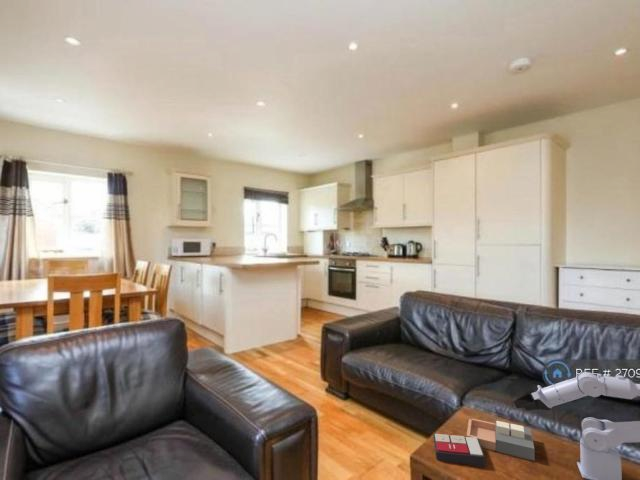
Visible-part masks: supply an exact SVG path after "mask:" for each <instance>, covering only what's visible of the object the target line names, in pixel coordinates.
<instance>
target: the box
mask: <svg viewBox="0 0 640 480" xmlns="http://www.w3.org/2000/svg"><path fill="white" fill-rule="evenodd" d="M467 423H468V424H467V428H466V429H467V431H466V437H474V438H478V440H479V442H480V445H481V448H482V449H485V450H490V451H493V452H496V422H495V423H494V422H490V421H485V420H481V419H476V418H471V417H468V422H467Z"/></svg>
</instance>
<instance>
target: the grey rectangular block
mask: <svg viewBox="0 0 640 480" xmlns="http://www.w3.org/2000/svg"><path fill="white" fill-rule="evenodd" d="M510 424H511V423H509V435H504V434H500V433H497V425H496V424H495V438H496V451H495V452H498V453H501V454H505V455H509V456H513V457H516V458H521V459H525V460H530V461H534V462H535V461H536V460H535V459H536V457H535V456H536V455H535V454H536V452H535V445H534V444H535V443H534V441H533V435H532V430H531V427H526V426H523V427H524V439H522V438H518V437H513V436H511V428H510Z"/></svg>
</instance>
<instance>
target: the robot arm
mask: <svg viewBox="0 0 640 480" xmlns="http://www.w3.org/2000/svg"><path fill="white" fill-rule="evenodd" d="M601 395H602V396H605V397H612V398H620V399H626V400H633V399H634V398H637V397H640V383H635V382H633V381H632V380H631V379H629V378H628V377H627V378H626V377H624V376H623V375H619V374H617V377H616V376H609V375H602V374H601V373H596V374H594V373H593V372H588V371H585V372H584V371H581V372H579V373H578V374H577V376H576V377H572V378H570V379H566V380H564V381H560V382H557V383H554V384H551V385H548V386H545V387H542V386H541V385H539V384H538V385H537V390H536V391H535V392H534V391H533V389H531V388H528V389H527V390H526V391H525V392H524V393H523V394H522V395H521V396H519V397H518V398H516V399H515V400H514V401H513V403H514V405H515V408H517V409H522V408H523V409H524V411H527V412H528V411H538V410H540V411H541V410H543V411H551V409H553V407H555V406H559V405H562V404H565V403H568V402H572V401H574V400H575V401H576V400H578V399H581V398H584V397H588V396H589V397H592V398H597V397H600V396H601ZM580 427H581V433H582V434H581V438H580V439H579V445H580V447H579V449H580V451H579V452H580V454H579V455H580V456H579V457H580V459H579V460H580V461H576V464H577V467H578V470H579V473H580V475H581V477H582V478H583V479H586V480H622V479H623V478H622V477H623V475H622V474H623V473H622V472H623V471H622V459H621V456H620V453H619V451H618V450H617V449H616V448H618V447H619V446H620V445H622V444H623V443H640V420H633V421H611V420H608V419H598V418H595V417H592V416H591V417H585V418H584V419H583V420H581V423H580Z"/></svg>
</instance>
